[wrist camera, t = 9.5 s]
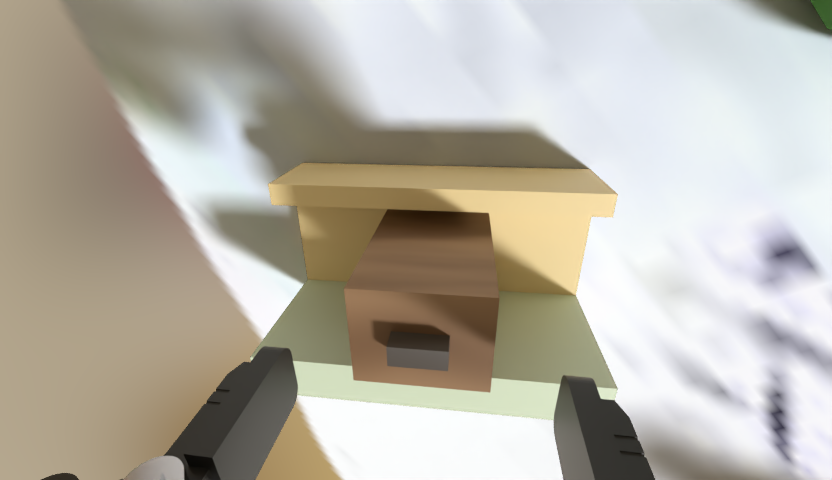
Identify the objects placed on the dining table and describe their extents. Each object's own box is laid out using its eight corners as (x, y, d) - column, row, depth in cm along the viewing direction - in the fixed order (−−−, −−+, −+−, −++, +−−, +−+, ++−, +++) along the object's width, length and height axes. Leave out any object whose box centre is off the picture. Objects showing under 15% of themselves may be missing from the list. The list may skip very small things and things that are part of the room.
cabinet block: (389, 205, 20) (336, 302, 12) (488, 208, 19) (501, 313, 11) (392, 272, 21) (347, 397, 13) (483, 277, 21) (491, 410, 13)
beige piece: (302, 162, 21) (215, 216, 14) (589, 169, 19) (662, 234, 12) (320, 294, 24) (258, 391, 17) (563, 309, 23) (607, 425, 16)
